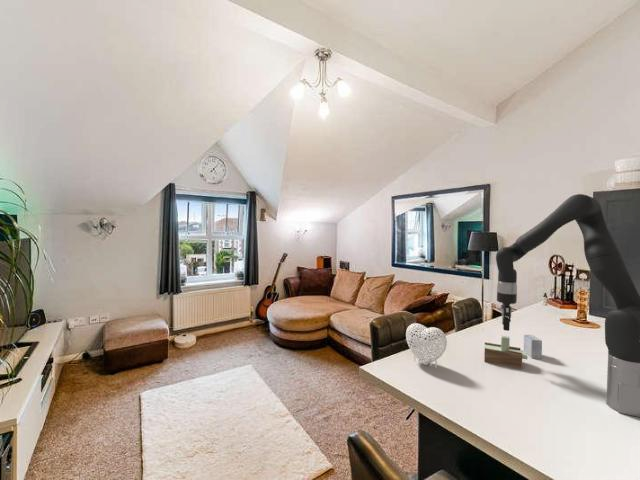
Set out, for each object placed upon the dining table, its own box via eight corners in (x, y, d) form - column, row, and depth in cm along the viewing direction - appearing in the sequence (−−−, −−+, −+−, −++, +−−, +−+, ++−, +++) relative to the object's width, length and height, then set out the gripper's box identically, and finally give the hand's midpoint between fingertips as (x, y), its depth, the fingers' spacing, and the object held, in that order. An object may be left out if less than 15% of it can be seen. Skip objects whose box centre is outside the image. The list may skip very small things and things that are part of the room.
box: (521, 368, 128) (522, 354, 127) (484, 361, 134) (484, 348, 134) (519, 361, 136) (520, 347, 135) (484, 354, 142) (484, 341, 142)
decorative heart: (400, 361, 134) (401, 323, 134) (412, 354, 142) (412, 318, 141) (440, 375, 122) (440, 333, 121) (450, 367, 129) (451, 327, 129)
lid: (527, 359, 128) (527, 342, 128) (484, 352, 135) (485, 336, 135) (525, 354, 133) (526, 337, 133) (484, 347, 141) (485, 331, 141)
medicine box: (542, 359, 138) (542, 340, 137) (531, 358, 138) (531, 340, 138) (533, 352, 145) (534, 334, 145) (523, 351, 146) (523, 334, 146)
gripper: (518, 295, 125) (517, 333, 126) (515, 289, 138) (514, 324, 139) (497, 293, 129) (496, 330, 130) (496, 288, 142) (495, 321, 142)
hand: (505, 327), depth 134 cm, fingers open, 8 cm apart
